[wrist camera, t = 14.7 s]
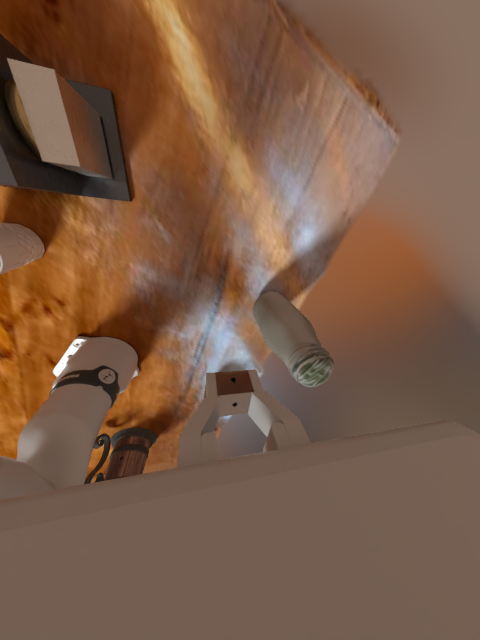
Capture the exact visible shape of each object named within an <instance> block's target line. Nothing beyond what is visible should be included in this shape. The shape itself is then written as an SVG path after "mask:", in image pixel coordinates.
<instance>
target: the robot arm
mask: <svg viewBox="0 0 480 640" xmlns="http://www.w3.org/2000/svg"><path fill="white" fill-rule="evenodd" d="M137 363H138V356H137V353H136V351H135V350H134V349H133V348H132V347H131V346H130V345H129V344H127V343H125V342H123V341H121V340H119V339H115V338H111V337H96V338H90V337H84V336H78V337H76V338H75V339H74V341H73V342H72V344H71V345H70V346H69V348H68V349H67V351H66V352H65V354H64V355H63V356H62V358H61V359H60V361H59V362H58V364H57V365H56V366H55V368H54V369H53V373H54V375H55V376H56V377H57V378H56V380H55V381H54V382H53V384H52V386H53V388H52V390H51V392H50V395H49V397H48V399H47V400H46V401H45V402H44V403H43V404H42V405H41V407H40V408H39V409H38V411H37V412H36V413H35V414H34V415H33V417H32V418H31V419H30V420H29V422H28V423H27V424H26V425H25V426H24V428H23V430H22V432H21V434H20V436H19V440H18V454H17V459H16V460H14V459H11V458H8V457H4V456H0V640H480V435H479V434H477V433H476V432H474V431H472V430H469V429H467V428H466V427H464V426H462V425H459V424H457V423H455V422H453V421H449V420H441V421H435V422H429V423H423V424H418V425H412V426H407V427H401V428H395V429H390V430H385V431H379V432H373V433H368V434H362V435H357V436H352V437H346V438H340V439H335V440H329V441H323V442H318V443H312V444H311V443H310V441H309V439H308V437H307V435H306V433H305V431H304V428H303V426H302V424H301V422H300V420H299V419H298V418H297V417H296V416H295V415H293V413H291V412H290V411H289V410H288V409H286V408H285V407H284V406H283V405H282V404H281V403H279V402H278V401H277V400H276V399H275V398H273V397H272V396H271V395H270V394H269V393H268V392H266V391H263V388H262V385H261V383H260V380H259V377H258V374H257V372H256V370H243V371H231V372H215V373H206V397H205V398H204V399H203V401H202V402H201V404H200V405H199V407H198V409H197V410H196V412H195V413H194V415H193V416H192V418H191V419H190V421H189V422H188V424H187V426H186V427H185V429H184V430H183V432H182V433H181V435H180V443H179V453H178V463H177V468H173V469H168V470H161V471H156V472H150V473H145V474H139V475H134V476H128V477H123V478H117V479H111V480H106V481H100V482H95V483H89V484H84V482H85V478H86V473H87V469H88V465H89V461H90V457H91V453H92V449H93V446H94V443H95V440H96V437H97V435H98V433H99V430H100V428H101V426H102V424H103V422H104V419H105V417H106V415H107V413H108V410H109V409H110V408H111V407H112V406H113V404H114V403H115V401H116V399H117V397H118V394H120V393H122V392H124V391H125V390H126V388H127V386H128V384H129V383H130V381H131V379H132V378H133V377H135V376H137V375H138V374H139V369H138V366H137ZM244 413H248V415H249V416H250V417H251V418H252V420H253V421H254V422H255V423H256V424H257V426H258V427H259V428H260V429H261V430H262V432H263V433H264V434H265V435H266V436H267V440H266V443H265V446H264V449H263V452H262V453H256V454H251V455H245V456H239V457H234V458H228V459H223V460H218V454H217V440H216V434H215V433H214V432H213V430H214V428H215V426H216V424H217V421H218V419H219V417H221V416H228V415H234V414H244Z"/></svg>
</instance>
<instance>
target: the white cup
mask: <svg viewBox="0 0 480 640" xmlns="http://www.w3.org/2000/svg"><path fill="white" fill-rule="evenodd" d="M44 252H45V250H44V244H43V242H42V241H41V239H40V238H39V236H38V235H37V234H35V233H34V232H33V231H32V230H30V229H29V228H27V227H25V226H22V225H20V224H16V223H0V274H2V273H5V272H8V271H11V270H13V269H16V268H19V267H21V266H24V265H26V264H29V263H30V262H32V261H35V260H37V259H40V258H42V256H43V254H44Z"/></svg>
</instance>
